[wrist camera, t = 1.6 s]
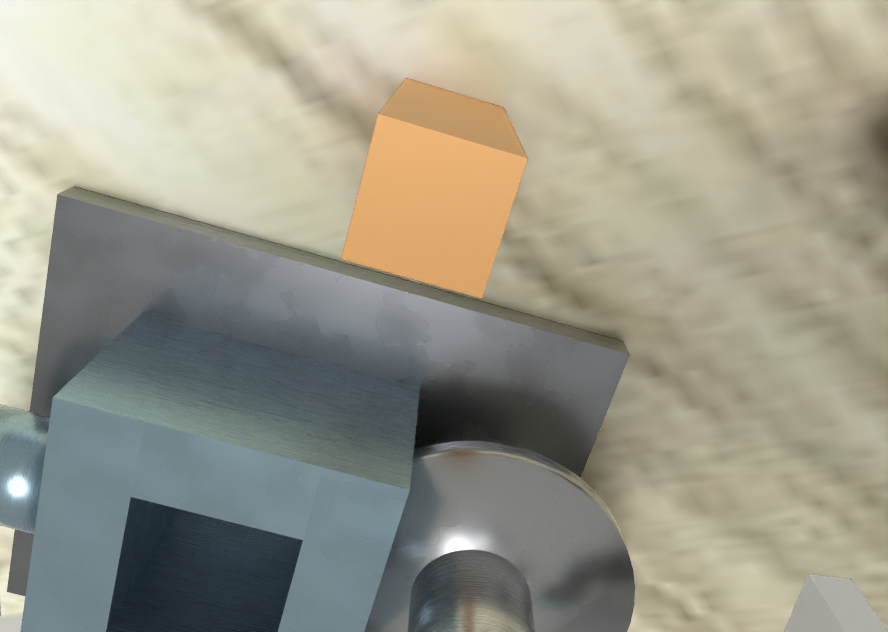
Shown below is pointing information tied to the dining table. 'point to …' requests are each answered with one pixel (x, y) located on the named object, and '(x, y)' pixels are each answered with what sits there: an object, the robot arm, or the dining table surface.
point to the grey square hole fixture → (298, 446)
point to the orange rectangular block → (436, 189)
